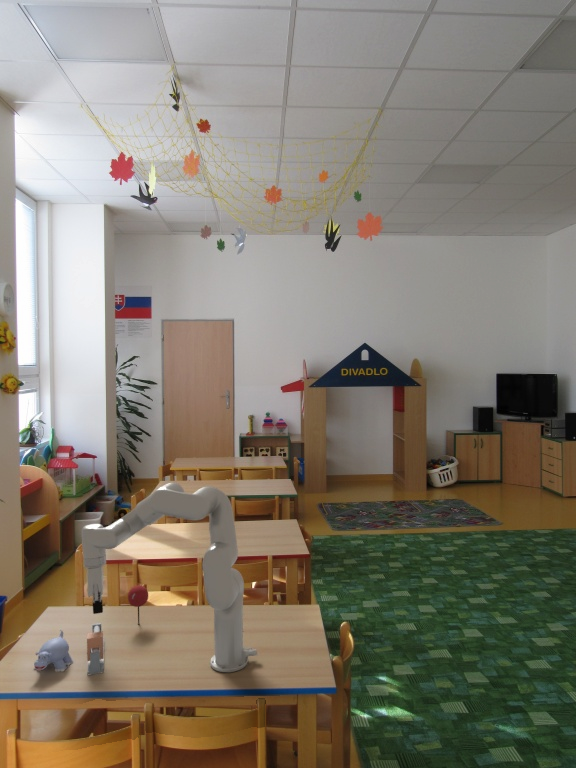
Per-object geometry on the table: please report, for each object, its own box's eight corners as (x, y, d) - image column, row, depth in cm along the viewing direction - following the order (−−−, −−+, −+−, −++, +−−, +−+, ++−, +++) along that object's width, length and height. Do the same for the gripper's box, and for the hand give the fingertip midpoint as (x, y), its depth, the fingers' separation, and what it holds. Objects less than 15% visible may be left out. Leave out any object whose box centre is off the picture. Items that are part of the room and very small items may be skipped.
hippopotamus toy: (23, 679, 190) (22, 650, 189) (48, 655, 204) (48, 628, 204) (54, 681, 188) (53, 652, 188) (77, 657, 203) (77, 630, 202)
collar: (103, 653, 200) (102, 631, 199) (103, 658, 196) (102, 636, 195) (87, 655, 198) (87, 633, 198) (87, 661, 194) (86, 638, 194)
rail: (104, 640, 215) (104, 622, 215) (103, 672, 193) (102, 652, 192) (90, 642, 213) (89, 624, 213) (87, 675, 191) (86, 654, 191)
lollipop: (126, 622, 229) (126, 584, 229) (146, 618, 233) (145, 581, 232) (130, 630, 222) (129, 591, 222) (150, 626, 226) (149, 588, 225)
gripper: (84, 555, 211) (87, 606, 211) (82, 569, 196) (85, 623, 197) (106, 552, 213) (109, 602, 213) (105, 565, 198) (109, 619, 199)
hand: (98, 612), depth 205 cm, fingers closed
